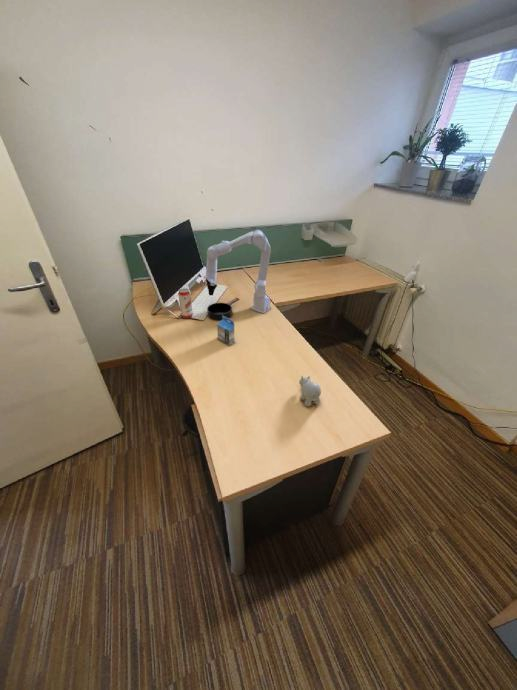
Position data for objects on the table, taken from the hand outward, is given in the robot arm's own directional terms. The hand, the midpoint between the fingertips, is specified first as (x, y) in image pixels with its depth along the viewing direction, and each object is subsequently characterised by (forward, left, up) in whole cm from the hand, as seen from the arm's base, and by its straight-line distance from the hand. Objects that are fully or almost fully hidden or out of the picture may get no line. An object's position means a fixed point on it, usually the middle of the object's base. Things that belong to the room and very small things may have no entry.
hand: (210, 292), depth 157 cm
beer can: (+4, +15, -11) cm, 19 cm away
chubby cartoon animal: (-79, +30, -11) cm, 85 cm away
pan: (-9, -2, -11) cm, 14 cm away
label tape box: (-29, +20, -11) cm, 37 cm away
